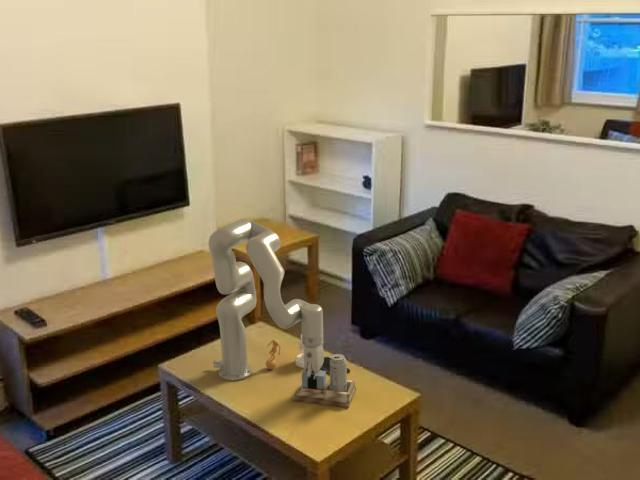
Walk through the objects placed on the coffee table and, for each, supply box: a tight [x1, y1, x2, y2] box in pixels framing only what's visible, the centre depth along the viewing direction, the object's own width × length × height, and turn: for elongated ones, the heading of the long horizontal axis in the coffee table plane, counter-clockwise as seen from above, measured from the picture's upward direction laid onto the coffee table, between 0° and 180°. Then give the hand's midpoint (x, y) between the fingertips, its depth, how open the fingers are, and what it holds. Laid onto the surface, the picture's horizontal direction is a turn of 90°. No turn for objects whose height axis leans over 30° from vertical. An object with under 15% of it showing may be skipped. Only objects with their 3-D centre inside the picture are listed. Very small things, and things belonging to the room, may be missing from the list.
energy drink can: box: [329, 353, 348, 392], centre depth 251 cm, size 6×6×15 cm
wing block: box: [301, 368, 327, 389], centre depth 254 cm, size 8×4×5 cm, turn 77°
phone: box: [320, 356, 351, 376], centre depth 274 cm, size 8×1×15 cm
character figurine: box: [295, 333, 305, 369], centre depth 277 cm, size 9×10×12 cm
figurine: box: [265, 339, 282, 370], centre depth 273 cm, size 8×6×12 cm
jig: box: [291, 377, 357, 409], centre depth 254 cm, size 20×13×4 cm, turn 76°
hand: (314, 384), depth 255 cm, fingers closed on wing block, 4 cm apart
